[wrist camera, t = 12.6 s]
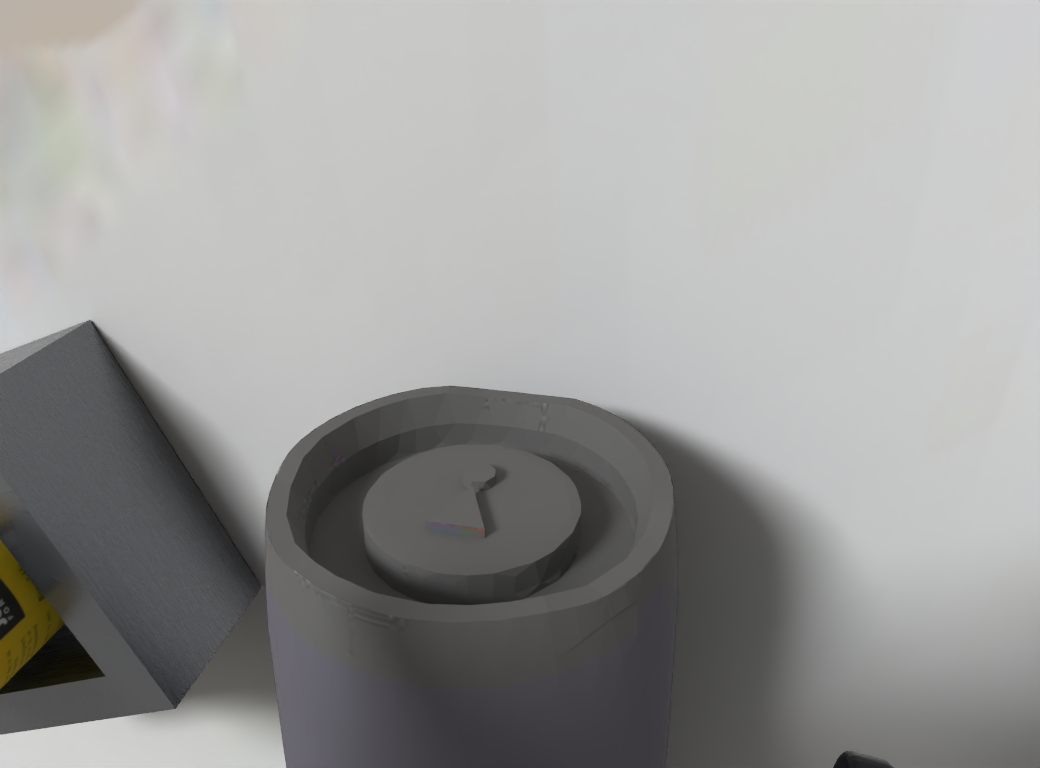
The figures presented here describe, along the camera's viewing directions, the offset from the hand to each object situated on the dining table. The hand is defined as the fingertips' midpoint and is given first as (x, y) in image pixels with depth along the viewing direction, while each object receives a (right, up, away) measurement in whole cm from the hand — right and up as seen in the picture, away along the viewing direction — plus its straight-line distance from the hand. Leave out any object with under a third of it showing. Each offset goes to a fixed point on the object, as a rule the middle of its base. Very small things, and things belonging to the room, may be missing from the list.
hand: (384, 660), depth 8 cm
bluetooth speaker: (+1, -7, +19) cm, 20 cm away
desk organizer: (-17, -2, +20) cm, 27 cm away
